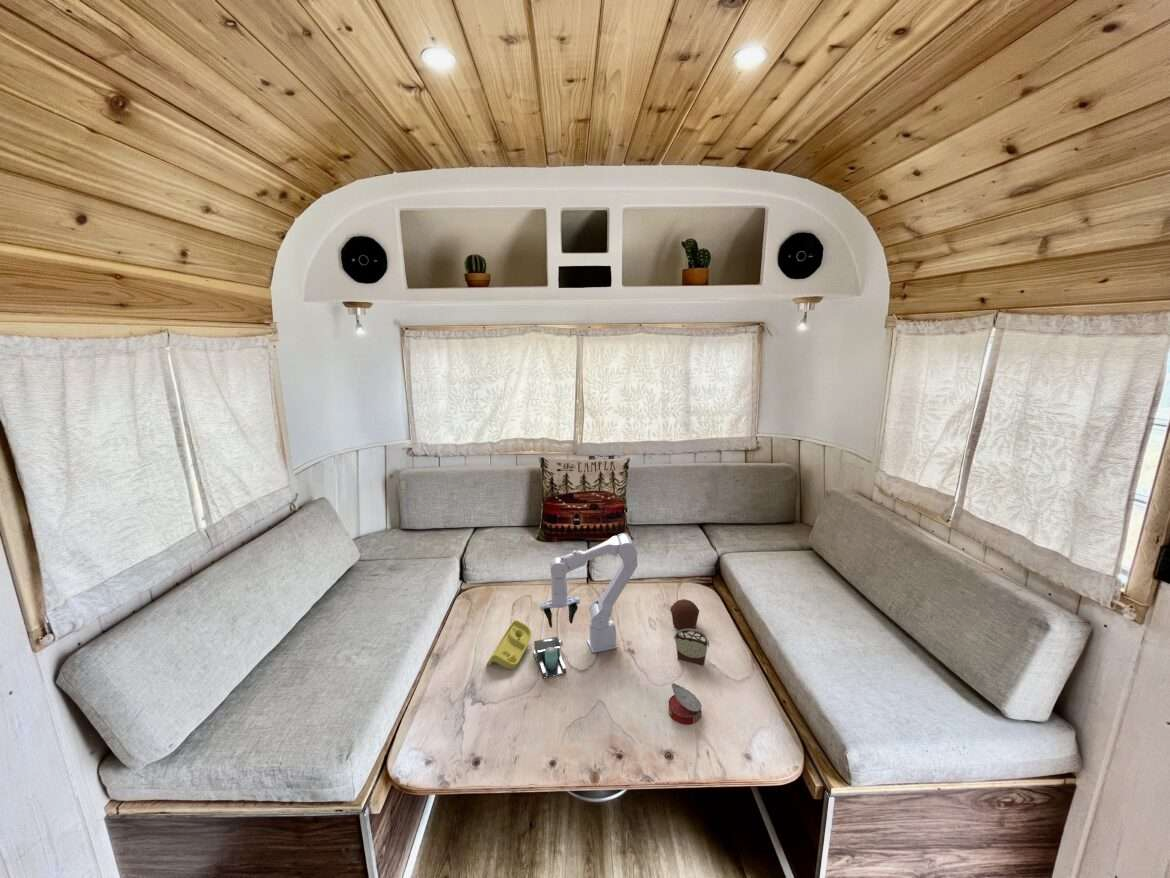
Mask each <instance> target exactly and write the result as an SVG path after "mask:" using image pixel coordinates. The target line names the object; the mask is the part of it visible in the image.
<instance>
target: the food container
mask: <svg viewBox="0 0 1170 878" xmlns="http://www.w3.org/2000/svg"><path fill="white" fill-rule="evenodd" d="M673 640H675V647H676V656H677V658H676V659H677V661H679V662H685V663H689V664H692V665H695V666H701V667H705V663H706V658H707V657H706V656H707V649H708V648H710V642H709V641H710V640H709V638H708V636H707V634H705V633H704V632H702V631H701V630H699V629H696V628H694V629H682V630H677V631H676V633H675V634H674V636H673Z"/></svg>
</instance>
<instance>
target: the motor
mask: <svg viewBox="0 0 1170 878" xmlns="http://www.w3.org/2000/svg"><path fill="white" fill-rule="evenodd" d="M533 646H534V647H533V655H534V658H536V659H535V661H537V662H538V667H539V670H540V672H541V676H542V675H543V676H542V679H545V678H544V677H547V678H550V677H549V676H552V677H554V676H553V675H556V676H558V675H557V674H560V675H563V674H562V673H565V674H567V667H566V665H565V663H564V660H563V658H562V654H561V647H563V646H564V643H563V640H559V638H558V636H552V637H548V638H543V639H539V640H534V641H533ZM548 647H555V648H556V649H557V656H558V667H557V668H556V669H554V670H548V669H546V667H545V649H546V648H548ZM537 662H536V663H537Z"/></svg>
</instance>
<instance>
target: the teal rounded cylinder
mask: <svg viewBox="0 0 1170 878" xmlns="http://www.w3.org/2000/svg"><path fill="white" fill-rule="evenodd" d="M545 667H546V669H548V670H554V669H556V668H557V667H558V656H557V649H556V648H555V647H548V648H546V649H545Z"/></svg>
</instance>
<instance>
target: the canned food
mask: <svg viewBox="0 0 1170 878" xmlns="http://www.w3.org/2000/svg"><path fill="white" fill-rule="evenodd" d="M671 688H672V692H673V693H674V694H673V695H672V696H670V698H669V700H668V715H669V716H670V718H671V719H672V720H673V721H674V722H676V723H678V724H680V725H685V726H690V725H694V724H695V725H696V723H698V722H699V721H700V719H701V718H702V703H701V701H700V700H699V699H698V698H697V696H696V695H695V694H694V693H692V692H691V691H690V690H689V689H686V687H684V686H681V685H679V684H677V683H676V682H675V683H674V682H672V684H671Z"/></svg>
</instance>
